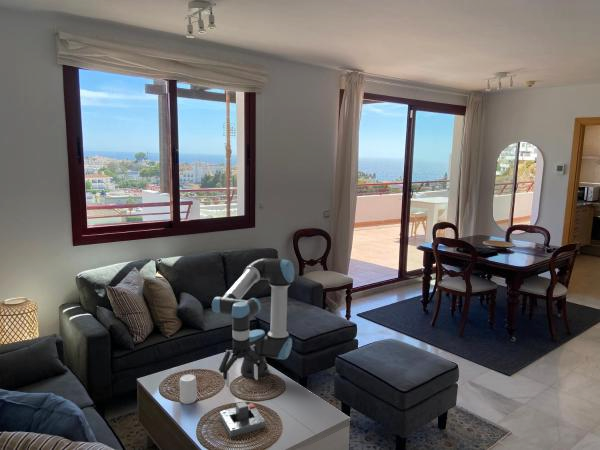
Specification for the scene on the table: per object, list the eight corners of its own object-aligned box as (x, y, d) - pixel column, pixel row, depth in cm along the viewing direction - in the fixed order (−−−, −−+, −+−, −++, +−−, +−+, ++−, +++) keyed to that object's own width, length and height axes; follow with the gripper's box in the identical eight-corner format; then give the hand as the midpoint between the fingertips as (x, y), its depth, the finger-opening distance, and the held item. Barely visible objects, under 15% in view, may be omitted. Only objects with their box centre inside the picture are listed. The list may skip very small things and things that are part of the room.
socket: (252, 408, 213) (252, 401, 212) (265, 427, 198) (265, 419, 198) (219, 417, 205) (219, 410, 205) (230, 437, 191) (230, 429, 191)
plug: (245, 417, 205) (245, 400, 204) (248, 423, 201) (248, 405, 200) (235, 420, 203) (235, 403, 202) (239, 425, 199) (238, 408, 198)
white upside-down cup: (192, 405, 215) (191, 382, 213) (177, 403, 216) (176, 380, 214) (199, 396, 222) (199, 374, 221) (184, 395, 224) (183, 372, 222)
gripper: (264, 329, 205) (264, 372, 209) (210, 339, 194) (212, 384, 198) (270, 335, 199) (270, 379, 202) (215, 346, 187) (217, 392, 191)
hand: (241, 382), depth 200 cm, fingers open, 13 cm apart
